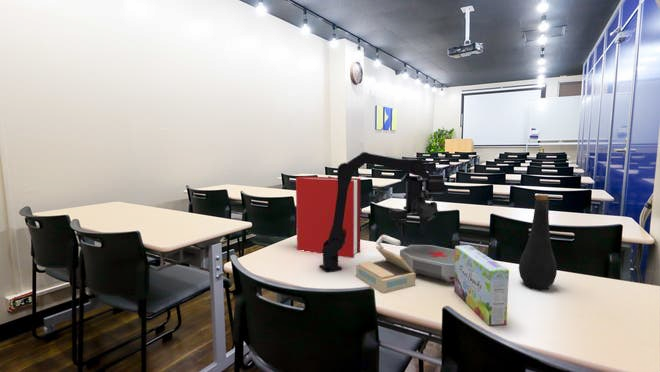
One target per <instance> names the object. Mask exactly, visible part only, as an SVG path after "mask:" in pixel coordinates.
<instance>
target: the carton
mask: <svg viewBox="0 0 660 372" xmlns="http://www.w3.org/2000/svg"><path fill="white" fill-rule="evenodd" d="M355 277H357V278H359V279H360V280H361V281H363V282H364V283H366V284H368V285H370V286H372V288H374V289H375V290H377V291H378V292H381V293H382V294H386V293H389V292H392V291H397V290H402V289H405V288H410V287H414V286H416V274H415V273H414V272H410V271H408V270H406V269H404V268H402V267H400V266H398V265H395V264H393V263H391V262H389V261H387V260H386V259H385V258H384V259H380V260H375V261H367V262H366V261H365V262H361V263H358V264H356V265H355Z"/></svg>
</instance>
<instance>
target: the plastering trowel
mask: <svg viewBox="0 0 660 372" xmlns="http://www.w3.org/2000/svg"><path fill="white" fill-rule="evenodd" d="M383 241H384V242H385V243H386V242H387V243H389V244H390V245H391V244H392V245H394V246H396V247H400V246H401V241H400V240H399V239H396V238H394V237H391V236H389V235H387V234H382V235H380V236H379V238H377V240H376V242H375V243H376V246H375V248H376V250H377V251H378V252H379V253H380V254H381V255H382V257H383V258H384V260H385V259H386V260H387V261H389V262H391V263H393V264H395V265H398V266H400V267H402V268H404V269H406V270H408V271H410V272H413V269H411V267H410V266H409V265H408V264H407V263H406V261H405V260H404V259H403V258H402V257H400V255H398V254H396V253H394V252H391V251H389V250H387V249H385V248H384V246H383V245H382V244H381V243H382V242H383ZM413 273H414V272H413Z"/></svg>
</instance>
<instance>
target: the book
mask: <svg viewBox="0 0 660 372" xmlns="http://www.w3.org/2000/svg"><path fill="white" fill-rule="evenodd" d="M361 183H362V182H361V178H359V177H356V178H355V177H352V179H351V182H350V184H349V187H348V191H347V198H346V206H345V213H344V220H343V229H346V231H347V234H346V237H345V244H344V243H343V247H342V248H341V249H340V250H338V257H345V258H351V259H354V258H355V257H354V256H355V254H356V253H361V185H362V184H361ZM337 192H338V178H337V177H333V176H332V177H330V176H329V177H328V176H309V175H308V176H306V175H305V176H298V177H295V199H296V200H295V202H296V204H295V206H296V207H295V208H296V210H295V211H296V249H297V251H299V250H304V251H303V252H306V251H310V252H309V253H314V252H316V254H321V253H323V252H322V248H323V244H324V243H325V242H326V241H327V240H328V237H329V234H330V231H331V228H332V225H333V222H334V214H335V207H336V199H337Z"/></svg>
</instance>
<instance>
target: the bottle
mask: <svg viewBox="0 0 660 372" xmlns="http://www.w3.org/2000/svg"><path fill="white" fill-rule="evenodd" d="M548 198H549V195H548V194H541V193H540V194H536V199H535V200H534V201H535V203H534V212H533V218H532V224H531V228H530V232H529V236H528V239H527V243H526V245H525V248H524V250H523V252H522V253H521V257H520V260H519V264H518V273H519V276H520V279H521V281H523V285H524V286H525V287H526V288H529V289H532V290H535V291H548V290H550V287H551V286H552V285H553V284H554V282H555V280H556V276H557V275H558V274H557V271H558V270H557V268H558V267H557V262H556V258H555V254H554V252H553V247H552V242H551V235H550V217H549V213H550V210H549V207H550V205H549V204H550V200H549V199H548Z"/></svg>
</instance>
